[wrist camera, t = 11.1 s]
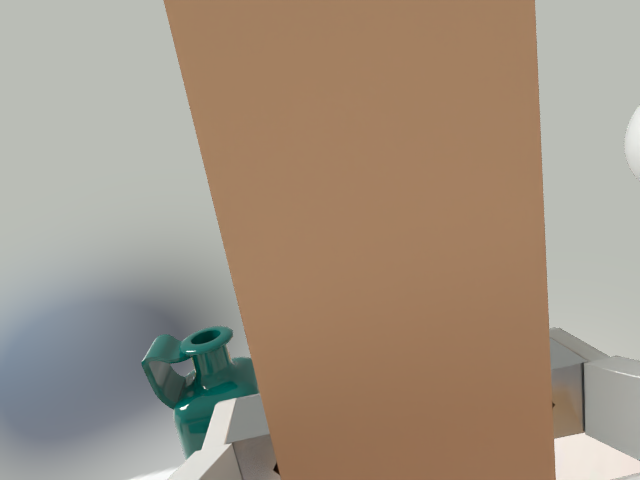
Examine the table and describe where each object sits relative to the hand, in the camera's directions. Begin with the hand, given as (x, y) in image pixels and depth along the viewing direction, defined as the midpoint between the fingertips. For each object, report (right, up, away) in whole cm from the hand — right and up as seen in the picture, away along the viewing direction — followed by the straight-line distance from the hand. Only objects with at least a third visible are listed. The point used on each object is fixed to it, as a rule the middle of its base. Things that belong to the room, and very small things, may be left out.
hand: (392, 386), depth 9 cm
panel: (+2, -11, +1) cm, 11 cm away
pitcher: (-10, -27, +30) cm, 42 cm away
